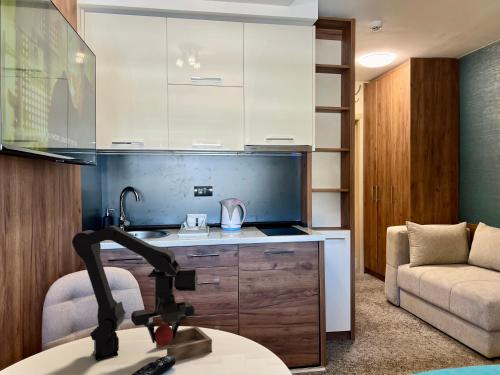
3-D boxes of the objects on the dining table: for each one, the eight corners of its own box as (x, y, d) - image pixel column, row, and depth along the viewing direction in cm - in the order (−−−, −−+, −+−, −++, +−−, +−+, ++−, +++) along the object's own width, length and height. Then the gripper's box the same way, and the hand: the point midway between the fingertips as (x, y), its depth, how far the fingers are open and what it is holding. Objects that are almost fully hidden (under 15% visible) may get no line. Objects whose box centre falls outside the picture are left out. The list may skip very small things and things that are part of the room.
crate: (168, 363, 106) (168, 349, 106) (156, 347, 116) (156, 335, 116) (211, 351, 113) (211, 339, 113) (196, 337, 124) (196, 326, 124)
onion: (168, 352, 108) (168, 325, 108) (150, 350, 109) (150, 324, 109) (175, 344, 114) (176, 319, 114) (159, 342, 115) (159, 317, 115)
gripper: (140, 302, 100) (139, 358, 100) (202, 293, 109) (201, 343, 109) (131, 292, 109) (130, 343, 109) (188, 284, 119) (187, 331, 119)
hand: (163, 340), depth 111 cm, fingers closed on onion, 6 cm apart
